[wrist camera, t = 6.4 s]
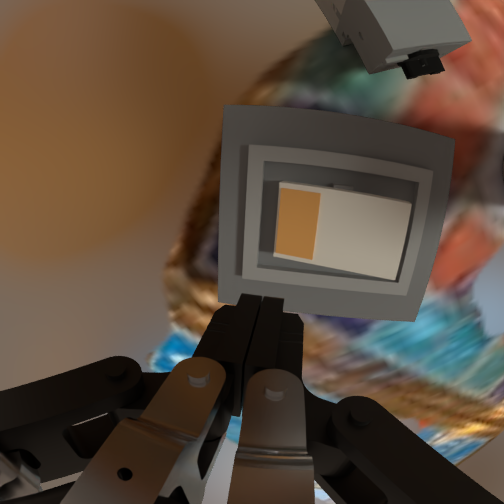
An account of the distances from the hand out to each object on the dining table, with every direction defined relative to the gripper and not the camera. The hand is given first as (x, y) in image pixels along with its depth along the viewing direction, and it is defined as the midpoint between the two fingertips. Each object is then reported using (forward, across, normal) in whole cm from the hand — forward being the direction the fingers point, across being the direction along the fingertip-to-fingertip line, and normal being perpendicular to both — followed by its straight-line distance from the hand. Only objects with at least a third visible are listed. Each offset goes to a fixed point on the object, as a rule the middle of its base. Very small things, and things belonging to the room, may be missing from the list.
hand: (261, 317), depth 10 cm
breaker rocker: (+13, -4, 0) cm, 13 cm away
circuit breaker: (+21, -7, -20) cm, 30 cm away
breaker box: (+21, -4, 0) cm, 21 cm away
